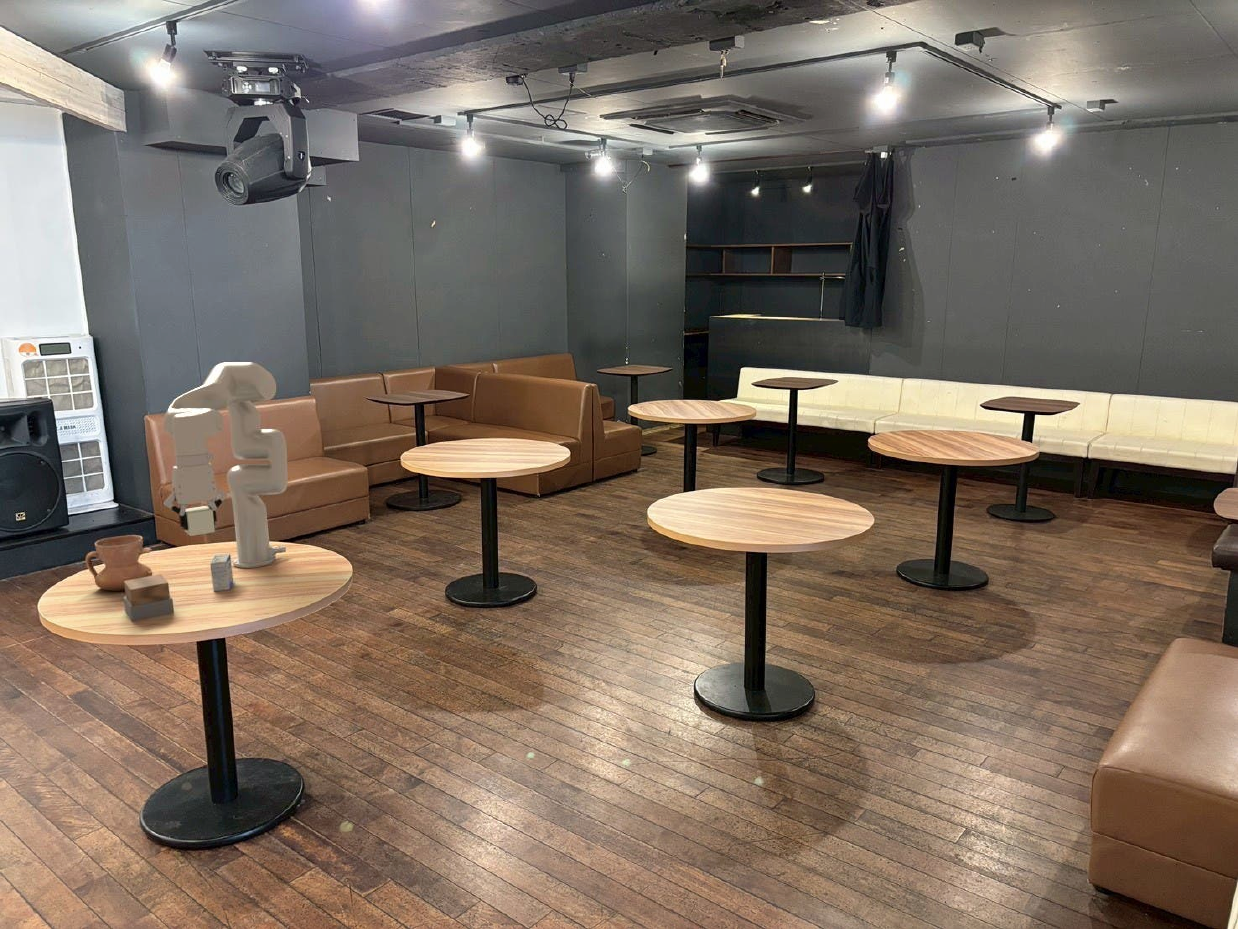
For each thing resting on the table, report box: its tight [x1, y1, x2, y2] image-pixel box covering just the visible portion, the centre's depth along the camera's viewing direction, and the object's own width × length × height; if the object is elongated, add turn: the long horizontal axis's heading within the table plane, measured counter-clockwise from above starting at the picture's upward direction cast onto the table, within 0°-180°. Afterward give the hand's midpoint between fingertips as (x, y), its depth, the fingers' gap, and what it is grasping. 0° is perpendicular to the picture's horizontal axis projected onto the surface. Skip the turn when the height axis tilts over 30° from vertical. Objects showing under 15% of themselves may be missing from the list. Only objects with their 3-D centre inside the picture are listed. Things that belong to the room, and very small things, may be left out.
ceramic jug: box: [85, 534, 153, 592], centre depth 252 cm, size 18×14×14 cm
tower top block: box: [124, 573, 171, 606], centre depth 232 cm, size 9×9×4 cm
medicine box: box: [209, 553, 234, 592], centre depth 252 cm, size 8×4×9 cm, turn 17°
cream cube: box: [183, 505, 216, 537], centre depth 230 cm, size 6×6×6 cm
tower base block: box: [123, 595, 175, 623], centre depth 233 cm, size 10×10×4 cm
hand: (198, 526), depth 230 cm, fingers closed on cream cube, 6 cm apart
